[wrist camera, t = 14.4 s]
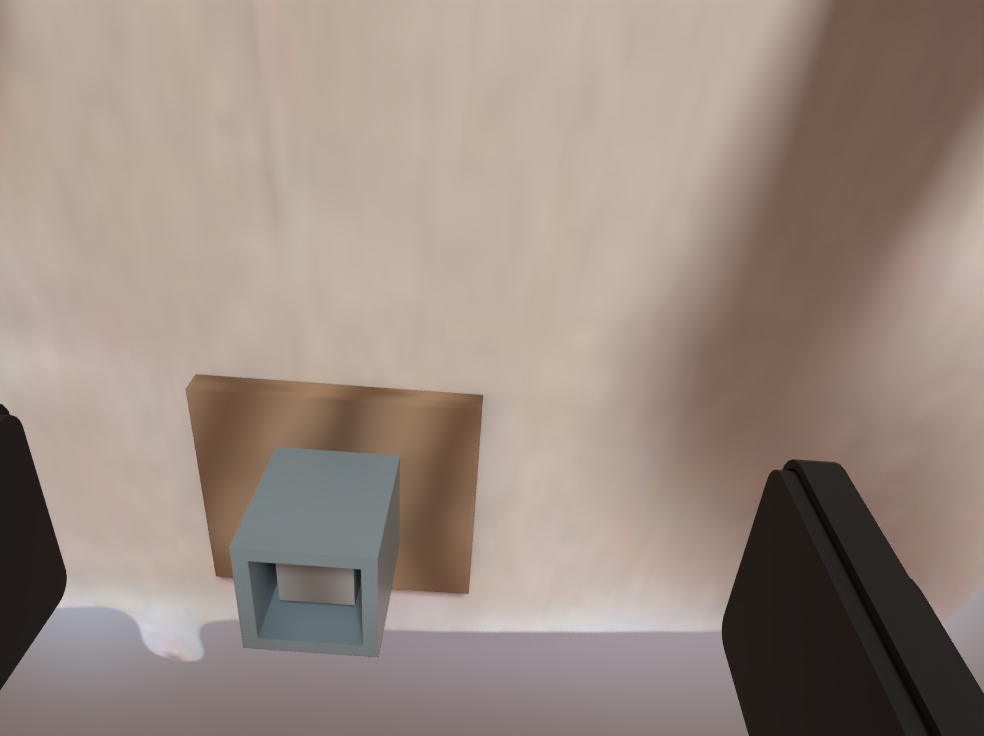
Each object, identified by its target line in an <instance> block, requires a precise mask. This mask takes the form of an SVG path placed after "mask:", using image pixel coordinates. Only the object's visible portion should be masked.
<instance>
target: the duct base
mask: <svg viewBox="0 0 984 736" xmlns="http://www.w3.org/2000/svg"><path fill="white" fill-rule="evenodd" d="M186 394H187V400H188V407H189V413H190V419H191V425H192V431H193V437H194V444H195V450H196V456H197V462H198V468H199V474H200V481H201V487H202V493H203V499H204V505H205V511H206V518H207V524H208V530H209V536H210V542H211V548H212V555H213V561H214V567H215V573H216V576H218V577H232V578H233V571H232V564H231V557H230V550H229V547H230V545H231V543H232V540H233V538H234V536H235V534H236V532H237V530H238V527H239V525H240V523H241V521H242V519H243V517H244V514H245V512H246V510H247V508H248V506H249V504H250V501H251V499H252V497H253V495H254V493H255V491H256V488H257V486H258V484H259V482H260V480H261V478H262V475H263V473H264V471H265V469H266V467H267V465H268V462H269V460H270V458H271V456H272V454H273V452H274V449H275V447H286V448H300V449H314V450H327V451H341V452H355V453H369V454H382V455H396V456H400V516H399V551H398V557H397V562H396V567H395V573H394V578H393V583H392V589H405V590H420V591H434V592H448V593H463V594H469V582H470V568H471V554H472V541H473V527H474V513H475V500H476V486H477V472H478V458H479V445H480V431H481V417H482V403H483V395H472V394H458V393H444V392H430V391H417V390H403V389H389V388H375V387H361V386H347V385H333V384H319V383H305V382H292V381H278V380H264V379H250V378H236V377H222V376H208V375H195V376H194V378H193V379H192V381H191V382H190V383H189V385H188V386H187V388H186ZM276 572H277V582H278V591H279V600H284V601H299V602H313V603H328V604H342V605H355V602H356V598H357V594H358V589H359V585H360V581H361V569H349V568H334V567H320V566H306V565H292V564H278V563H276Z"/></svg>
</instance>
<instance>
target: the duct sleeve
mask: <svg viewBox="0 0 984 736" xmlns="http://www.w3.org/2000/svg"><path fill="white" fill-rule="evenodd" d="M399 516H400V456H396V455H382V454H369V453H355V452H341V451H327V450H314V449H300V448H286V447H275V449H274V452H273V454H272V456H271V458H270V460H269V462H268V465H267V467H266V469H265V471H264V473H263V475H262V478H261V480H260V482H259V484H258V486H257V488H256V491H255V493H254V495H253V497H252V499H251V501H250V504H249V506H248V508H247V510H246V512H245V514H244V517H243V519H242V521H241V523H240V525H239V527H238V530H237V532H236V534H235V536H234V538H233V540H232V543H231V545H230V547H229V550H230V557H231V564H232V571H233V578H234V585H235V592H236V599H237V606H238V613H239V620H240V626H241V634H242V641H243V647H244V648H254V649H268V650H282V651H298V652H311V653H325V654H340V655H341V654H342V655H354V656H368V657H379V652H380V647H381V642H382V636H383V631H384V626H385V620H386V615H387V610H388V605H389V599H390V594H391V589H392V583H393V578H394V573H395V567H396V562H397V557H398V551H399ZM276 563H278V564H292V565H306V566H320V567H334V568H349V569H361V581H360V585H359V589H358V594H357V598H356V602H355V605H342V604H328V603H313V602H299V601H284V600H279V591H278V582H277V572H276Z"/></svg>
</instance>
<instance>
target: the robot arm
mask: <svg viewBox="0 0 984 736" xmlns="http://www.w3.org/2000/svg"><path fill="white" fill-rule="evenodd" d="M66 581H67V575H66V569H65V566H64V563H63V559H62V556H61V552H60V549H59V546H58V542H57V539H56V536H55V532H54V529H53V526H52V522H51V519H50V516H49V512H48V509H47V506H46V502H45V499H44V496H43V492H42V489H41V486H40V482H39V479H38V476H37V472H36V469H35V466H34V462H33V459H32V456H31V452H30V449H29V446H28V442H27V439H26V436H25V432H24V429H23V426H22V424H21V422H20V420H19V419H18V418H17V417H15V416H12V415H10V414H9V411H8V410H7V409H6V408H5V407H4V406H3V405H2V404H0V690H1V688H2V687H3V685H4V684H5V682H6V681H7V680H8V678H9V676H10V675H11V673H12V672H13V670H14V669H15V668H16V666H17V665H18V663H19V662H20V660H21V659H22V657H23V656H24V654H25V653H26V651H27V650H28V648H29V647H30V645H31V644H32V642H33V641H34V639H35V638H36V637H37V635H38V634H39V632H40V631H41V629H42V628H43V626H44V625H45V623H46V622H47V620H48V619H49V617H50V616H51V614H52V613H53V611H54V610H55V608H56V607H57V605H58V604H59V602H60V600H61V599H62V597H63V594H64V591H65V587H66ZM722 640H723V646H724V650H725V654H726V657H727V660H728V664H729V667H730V671H731V675H732V678H733V682H734V685H735V689H736V692H737V696H738V699H739V702H740V706H741V709H742V713H743V717H744V720H745V723H746V727H747V731H748V734H749V736H984V693H983V692H982V690H981V689H980V687H979V685H978V683H977V682H976V680H975V678H974V677H973V675H972V673H971V672H970V670H969V669H968V667H967V666H966V664H965V662H964V660H963V659H962V657H961V655H960V654H959V652H958V650H957V649H956V647H955V646H954V644H953V643H952V641H951V639H950V637H949V636H948V634H947V632H946V631H945V629H944V627H943V626H942V624H941V622H940V621H939V619H938V617H937V616H936V614H935V613H934V611H933V609H932V608H931V606H930V604H929V603H928V601H927V599H926V598H925V596H924V594H923V593H922V591H921V590H920V589H919V587H918V586H917V585H916V584H915V582H914V581H913V580H912V579H910V578H909V576H908V574H907V573H906V571H905V569H904V568H903V566H902V564H901V563H900V561H899V559H898V558H897V556H896V554H895V553H894V551H893V549H892V548H891V546H890V544H889V543H888V541H887V539H886V538H885V536H884V534H883V533H882V531H881V529H880V528H879V526H878V524H877V523H876V521H875V519H874V518H873V516H872V514H871V513H870V511H869V509H868V508H867V506H866V505H865V503H864V501H863V500H862V498H861V496H860V495H859V493H858V491H857V490H856V488H855V486H854V485H853V483H852V481H851V480H850V478H849V476H848V475H847V473H846V471H845V470H844V468H843V467H842V466H841V465H840V464H838V463H835V462H821V461H807V460H790V461H788V462H787V463H786V464H785V465H784V468H783V470H773V471H772V472H771V473H770V474H769V477H768V479H767V482H766V485H765V488H764V491H763V495H762V498H761V501H760V504H759V507H758V510H757V513H756V516H755V520H754V523H753V526H752V529H751V532H750V535H749V538H748V541H747V545H746V548H745V551H744V554H743V557H742V560H741V563H740V567H739V570H738V573H737V576H736V579H735V582H734V585H733V588H732V592H731V595H730V598H729V601H728V604H727V607H726V610H725V613H724V617H723V622H722Z"/></svg>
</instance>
